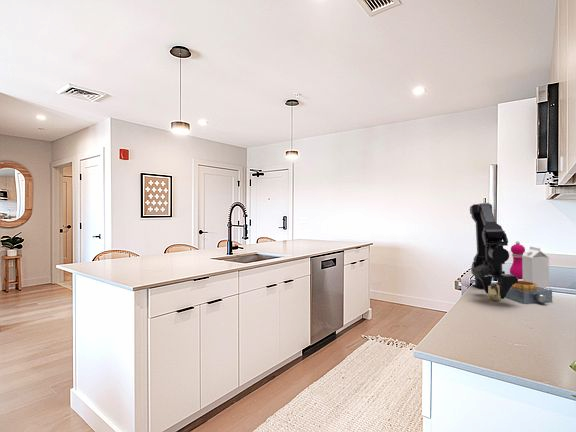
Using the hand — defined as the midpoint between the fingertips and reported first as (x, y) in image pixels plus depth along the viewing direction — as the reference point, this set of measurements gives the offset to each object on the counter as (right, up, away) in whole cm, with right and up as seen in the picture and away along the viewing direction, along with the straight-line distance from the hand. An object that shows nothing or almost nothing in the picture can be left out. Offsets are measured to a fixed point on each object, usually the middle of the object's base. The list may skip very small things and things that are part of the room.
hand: (494, 296), depth 136 cm
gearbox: (+13, -1, 0) cm, 13 cm away
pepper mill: (+32, 0, +31) cm, 44 cm away
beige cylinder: (0, -2, 0) cm, 2 cm away
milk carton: (+28, 0, +14) cm, 31 cm away
